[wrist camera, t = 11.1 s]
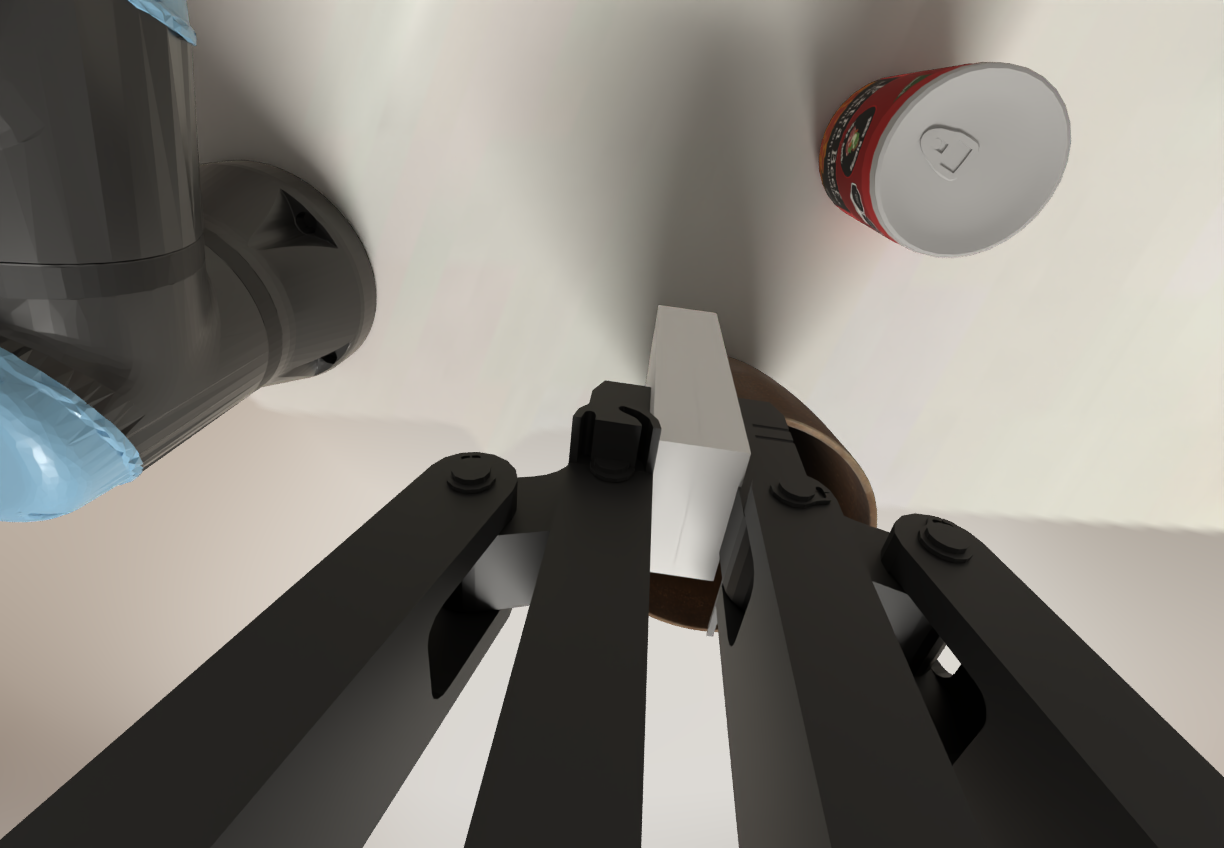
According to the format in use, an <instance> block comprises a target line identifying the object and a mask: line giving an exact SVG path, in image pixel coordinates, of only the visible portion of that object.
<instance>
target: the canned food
mask: <svg viewBox="0 0 1224 848" xmlns="http://www.w3.org/2000/svg"><path fill="white" fill-rule="evenodd" d="M1070 145H1071V128H1070V120H1069V116H1068V113H1067V109H1066V105H1065V103H1064V102H1063V100H1062V98H1061V96H1060V95H1059V93H1058V91H1057V89H1056V88H1055V87H1054V86H1052V85H1051V84H1050V83H1049V82H1048V81H1047V80H1046V79H1045V78H1044V77H1043V76H1041V75H1039V74H1038V73H1036V72H1034V71H1032V70H1030V69H1029V68H1026V67H1022V66H1018V65H1014V64H1010V63H1001V62H981V63H974V64H964V65H958V66H952V67H946V68H939V69H933V70H927V71H921V72H915V73H909V74H903V75H897V76H892V77H887V78H882V79H880V80H877V81H875V82H872V83H870V84H868V85H866V86H864V87H863V88H861V89H860V90H858V91H857V92H855V93H854V94H853V95H852V96H851V97H850V98H848V99H847V100H846V101H845V102H844V103H843V104H842V105H841V107H840V108H839V109H838V111H837V112H836V113H835V114H834V116H833V117H832V119H831V121H830V123H829V125H828V127H827V129H826V131H825V134H824V137H823V140H822V143H821V148H820V154H819V172H820V176H821V180H822V184H823V186H824V188H825V191H826V193H827V195H828V196H829V198H830V199H831V200H832V201H833V203H834V204H835V205H836V206H837V207H839V208H840V209H841V210H842V211H843V212H845V213H846V214H848V215H850V216H851V217H853V218H855V219H856V220H858V221H860V222H862V223H863V224H865V225H867V226H868V227H870V228H872V229H873V230H875V231H877V232H878V233H880V234H882V235H883V236H885V237H887V238H888V239H890V240H892V241H894V242H896V243H898V244H900V245H901V246H903V247H905V248H907V249H910V250H912V251H914V252H917V253H920V254H925V255H929V256H933V257H941V258H956V257H963V256H970V255H974V254H977V253H980V252H983V251H986V250H989V249H991V248H993V247H995V246H997V245H999V244H1001V243H1003V242H1005V241H1007V240H1008V239H1010V238H1011V237H1012V236H1014V235H1015V234H1017V233H1018V232H1020V231H1021V230H1022V229H1024V228H1025V227H1026V226H1027V225H1028V224H1029V223H1030V222H1031V221H1032V220H1033V219H1034V218H1035V217H1036V216H1037V215H1038V214H1039V213H1040V212H1041V210H1042V209H1043V208H1044V206H1045V205H1046V204H1047V203H1048V201H1049V200H1050V199H1051V197H1052V195H1053V194H1054V192H1055V190H1056V188H1057V186H1058V185H1059V183H1060V181H1061V179H1062V176H1063V173H1064V170H1065V168H1066V165H1067V162H1068V157H1069V151H1070Z"/></svg>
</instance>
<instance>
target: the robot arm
mask: <svg viewBox="0 0 1224 848" xmlns="http://www.w3.org/2000/svg"><path fill="white" fill-rule="evenodd" d="M196 40H197V38H196V33H195V31H194V30H193V29H192V27H191V26H190V23H189V15H188V8H187V1H186V0H0V521H6V522H33V521H42V520H48V519H53V518H57V517H59V516H62V515H65V514H69V513H71V512H73V511H75V510H77V509H79V508H81V507H82V506H84V505H86V504H87V503H89V502H91V501H92V500H94V499H96V498H97V497H99V496H101V495H102V494H104V493H106V492H107V491H109V490H111V489H112V488H114V487H116V486H117V485H122V484H124V483H128V482H131V481H133V480H135V479H136V478H137V477H138V476H139V475H140V474H141V473H142V471H144V470H145V469H147V468H148V467H149V466H151V465H152V464H154V463H155V462H156V461H158V460H159V459H161V458H162V457H163V456H165V455H166V454H168V453H169V452H170V451H172V450H173V449H175V448H176V447H177V446H179V445H180V444H182V443H183V442H184V441H186V440H187V439H189V438H190V437H192V436H193V435H194V434H196V433H197V432H199V431H200V430H201V429H203V428H204V427H206V426H207V425H208V424H210V423H211V422H212V421H214V420H215V419H217V418H218V417H219V416H221V415H222V414H224V413H225V412H226V411H228V410H229V409H231V408H232V407H234V406H235V405H236V404H238V403H239V402H240V401H242V400H243V399H245V398H246V397H248V396H249V395H250V394H252V393H253V392H255V391H256V390H258V389H259V388H260V387H265V386H270V385H275V384H280V383H285V382H290V381H295V380H300V379H305V378H310V377H314V376H317V375H320V374H322V373H325V372H327V371H329V370H331V369H332V368H334V367H336V366H337V365H339V364H340V363H341V362H343V361H344V360H345V359H346V358H348V357H349V356H350V355H352V354H353V353H354V352H355V351H356V350H357V349H358V348H359V347H360V346H361V345H362V343H363V342H364V341H365V339H366V337H367V336H368V334H369V332H370V330H371V327H372V324H373V320H374V316H375V311H376V288H375V281H374V276H373V272H372V268H371V265H370V262H369V259H368V257H367V254H366V252H365V250H364V248H363V246H362V244H361V242H360V240H359V238H358V237H357V235H356V233H355V232H354V230H353V229H352V227H351V226H350V224H349V223H348V222H347V220H346V219H345V218H344V216H343V215H342V214H341V213H340V212H339V211H338V209H337V208H336V207H335V206H334V205H333V204H332V203H331V202H330V201H329V200H328V199H327V198H325V197H324V196H323V195H322V194H321V193H320V192H318V191H317V190H316V189H314V188H313V187H312V186H310V185H309V184H308V183H306V182H304V181H303V180H301V179H300V178H298V177H296V176H294V175H292V174H290V173H288V172H286V171H284V170H282V169H279V168H277V167H274V166H271V165H268V164H264V163H260V162H254V161H246V160H231V161H222V162H213V163H206V164H201V165H199V155H198V142H197V128H196V109H195V91H194V72H193V53H192V45H194V46H197V45H196ZM719 560H720V564H721V573H722V581H721V585H720V588H719V591H718V595H717V598H716V601H715V604H714V608H713V611H712V614H711V617H710V621H709V624H708V629H707V636H713V634H714V631H715V628H716V625H717V624H718V633H719V644H720V654H721V664H722V675H723V685H724V696H725V707H726V717H727V728H728V738H729V748H730V758H731V769H732V779H733V790H734V801H735V811H736V822H737V832H738V842H739V848H1224V777H1223V776H1222V775H1221V774H1220V773H1219V772H1218V771H1217V770H1216V769H1215V768H1214V767H1213V766H1212V765H1211V764H1210V763H1209V762H1208V761H1206V760H1205V759H1204V757H1202V756H1201V755H1200V754H1199V753H1198V752H1197V751H1196V750H1195V749H1194V748H1193V747H1192V746H1191V745H1190V744H1189V743H1188V742H1187V741H1186V740H1185V739H1184V738H1183V737H1182V736H1181V735H1180V734H1179V733H1178V732H1177V731H1176V730H1175V729H1173V727H1172V726H1171V725H1170V724H1169V723H1168V722H1166V721H1165V720H1164V719H1163V718H1162V717H1161V716H1160V715H1159V714H1158V713H1157V712H1156V711H1155V710H1154V709H1153V708H1152V707H1151V706H1150V705H1149V704H1148V703H1147V702H1146V701H1145V700H1144V699H1143V698H1142V697H1141V696H1140V695H1139V694H1138V693H1137V692H1136V691H1135V690H1134V689H1133V688H1131V687H1130V686H1129V685H1128V684H1127V683H1126V682H1125V681H1124V680H1123V679H1122V678H1121V677H1120V676H1119V675H1118V674H1117V673H1116V672H1115V671H1114V670H1113V669H1112V668H1111V667H1110V666H1109V665H1108V664H1107V663H1106V662H1105V661H1104V660H1103V659H1102V658H1101V657H1100V656H1099V655H1098V654H1096V652H1095V651H1093V650H1092V649H1091V648H1090V647H1089V646H1088V645H1087V644H1086V643H1085V642H1084V641H1083V640H1082V639H1081V638H1080V637H1079V636H1078V635H1077V634H1076V633H1075V632H1074V631H1073V630H1072V629H1071V628H1070V627H1069V626H1068V625H1067V624H1066V623H1065V622H1064V621H1062V619H1060V618H1059V617H1058V616H1057V615H1056V614H1055V613H1054V612H1053V611H1052V610H1051V609H1050V608H1049V607H1048V606H1047V605H1046V604H1045V603H1044V602H1043V601H1042V600H1041V599H1040V598H1039V597H1038V596H1037V595H1036V594H1035V593H1034V592H1033V591H1032V590H1031V589H1030V588H1029V587H1027V585H1026V584H1025V583H1023V581H1021V580H1020V579H1019V578H1018V577H1017V576H1016V575H1015V574H1014V573H1013V572H1012V571H1011V570H1010V569H1009V568H1008V567H1007V566H1006V565H1005V564H1004V563H1003V562H1002V561H1001V560H1000V559H999V558H998V557H997V556H996V555H995V554H994V553H993V552H992V551H991V550H990V549H988V547H986V546H985V545H984V544H983V543H982V542H981V541H980V540H978V539H977V538H975V536H973V535H972V534H971V533H969V532H968V531H966V530H965V529H963V528H961V527H959V526H957V525H955V524H954V523H952V522H950V521H948V520H945V519H941V518H939V517H935V516H930V515H923V514H909V515H904V516H901V517H900V518H899V519H898V520H897V521H896V522H895V523H894V525H893V527H892V529H891V531H890V533H889V532H886V531H884V530H881V529H878V528H875V527H872V526H869V525H866V524H863V523H861V522H858V521H855V520H853V519H851V518H848V517H846V516H844V515H843V512H842V510H841V508H840V506H839V503H838V501H837V499H836V498H835V497H834V495H833V494H832V492H831V491H830V490H829V489H828V488H827V487H825V486H824V485H823V484H821V483H820V482H819V481H817V480H815V479H813V478H811V477H809V476H807V475H806V472H805V470H804V467H803V464H802V462H801V459H800V457H799V454H798V451H797V449H796V446H795V444H794V443H793V438H792V436H791V433H790V432H789V428H788V425H787V423H786V420H785V417H784V415H783V414H782V413H781V412H779V411H778V410H777V409H776V408H775V407H774V406H773V405H772V404H771V403H770V402H764V401H757V400H750V399H743V398H737V394H736V390H735V386H734V382H733V378H732V374H731V370H730V366H729V362H728V358H727V354H726V349H725V345H724V341H723V337H722V333H721V329H720V325H719V321H718V317H717V313H713V312H706V311H699V310H691V309H684V308H677V307H670V306H663V305H658V311H657V317H656V323H655V329H654V335H653V341H652V347H651V354H650V360H649V366H648V372H647V378H646V384H645V386H640V385H633V384H626V383H618V382H611V381H604V382H603V383H601V384H600V385H599V386H597V387H596V388H595V389H594V390H593V391H592V395H591V399H590V403H589V404H587V405H585V406H583V407H581V408H579V409H578V410H577V411H576V413H575V414H574V415H573V421H572V432H571V443H570V455H569V463H568V465H567V466H566V467H565V468H563V469H561V470H559V471H557V472H554V473H551V474H547V475H541V476H535V477H519V478H517V474H516V470H515V468H514V467H513V466H512V465H511V464H510V463H509V462H508V461H506V460H504V459H502V458H500V457H498V456H496V455H492V454H486V453H480V452H468V453H459V454H455V455H452V456H448V457H445V458H443V459H441V460H440V461H438V462H436V463H435V464H433V465H431V466H430V467H429V468H428V469H427V470H426V471H425V472H423V473H422V474H421V475H420V476H419V477H418V478H416V479H415V480H414V481H413V482H412V483H411V484H410V485H408V486H407V487H406V488H405V489H404V490H403V491H402V492H401V493H399V494H398V495H397V496H396V497H395V498H393V499H392V500H391V501H390V502H389V503H388V504H387V505H385V506H384V507H383V508H382V509H381V510H380V511H378V512H377V513H376V514H375V515H374V516H373V517H372V518H371V519H369V520H368V521H367V522H366V523H365V524H364V525H362V526H361V527H360V528H359V529H358V530H357V531H355V532H354V533H353V534H352V535H351V536H350V537H348V538H347V539H346V540H345V541H344V542H343V543H342V544H341V545H339V546H338V547H337V548H336V549H335V550H334V551H332V552H331V553H330V554H329V555H328V556H327V557H325V558H324V559H323V560H322V561H321V562H320V563H319V564H317V565H316V566H315V567H314V568H313V569H312V570H310V571H309V572H308V573H307V574H306V575H305V576H304V577H302V578H301V579H300V580H299V581H298V582H297V583H296V584H294V585H293V586H292V587H291V588H290V589H289V590H287V591H286V592H285V593H284V594H283V595H282V596H281V597H279V598H278V599H277V600H276V601H275V602H274V603H272V604H271V605H270V606H269V607H268V608H267V609H266V610H264V611H263V612H262V613H261V614H260V615H259V616H257V617H256V618H255V619H254V620H253V621H252V622H251V623H249V624H248V625H247V626H246V627H245V628H244V629H243V630H242V631H240V632H239V633H238V634H237V635H236V636H234V637H233V638H232V639H231V640H230V641H229V642H228V643H226V644H225V645H224V646H223V647H222V648H221V649H219V650H218V651H217V652H216V653H215V654H214V655H213V656H211V657H210V658H209V659H208V660H207V661H206V662H205V663H203V664H202V665H201V666H200V667H199V668H198V669H197V670H195V671H194V672H193V673H192V674H191V675H190V676H188V677H187V678H186V679H185V680H184V681H183V682H181V683H180V684H179V685H178V686H177V687H176V688H175V689H173V690H172V691H171V692H170V693H169V694H168V695H167V696H166V697H164V698H163V699H162V700H161V701H160V702H158V703H157V704H156V705H155V706H154V707H153V708H152V709H150V710H149V711H148V712H147V713H146V714H145V715H144V716H142V717H141V718H140V719H139V720H138V721H137V722H136V723H134V724H133V725H132V726H131V727H130V728H129V729H127V730H126V731H125V732H124V733H123V734H122V735H120V736H119V737H118V738H117V739H116V740H115V741H114V742H112V743H111V744H110V745H109V746H108V747H107V748H105V749H104V750H103V751H102V752H101V753H100V754H99V755H97V756H96V757H95V758H94V759H93V760H92V761H90V762H89V763H88V764H87V765H86V766H85V767H84V768H82V769H81V770H80V771H79V772H78V773H77V774H76V775H75V776H73V777H72V778H71V779H70V780H69V781H68V782H66V783H65V784H64V785H63V786H62V787H61V788H59V789H58V790H57V791H56V792H55V793H54V794H52V795H51V796H50V797H49V798H48V799H47V800H46V801H44V802H43V803H42V804H41V805H40V806H39V807H38V808H36V809H35V810H34V811H33V812H32V813H31V814H29V815H28V816H27V817H26V818H25V819H24V820H23V821H21V822H20V823H19V824H18V825H17V826H16V827H14V828H13V829H12V830H11V831H10V832H9V833H8V834H6V835H5V836H4V837H3V838H2V839H1V840H0V848H363V846H364V844H365V843H366V841H367V840H368V838H369V836H370V835H371V833H372V832H373V830H374V828H375V827H376V825H377V824H378V822H379V820H380V819H381V817H382V816H383V814H384V813H385V811H386V810H387V808H388V807H389V805H390V803H391V801H392V800H393V799H394V797H395V796H396V794H397V792H398V791H399V789H400V787H401V786H402V784H403V783H404V781H405V780H406V778H407V776H408V775H409V773H410V772H411V770H412V769H413V767H414V766H415V764H416V762H417V761H418V759H419V758H420V756H421V754H422V753H423V751H424V750H425V748H426V747H427V745H428V744H429V742H430V740H431V739H432V737H433V736H434V734H435V733H436V731H437V729H438V728H439V726H440V725H441V723H442V721H443V720H444V718H445V716H446V715H447V714H448V712H449V710H450V709H451V707H452V706H453V704H454V703H455V701H456V699H457V698H458V696H459V695H460V693H461V691H462V690H463V688H464V687H465V685H466V684H467V682H468V681H469V679H470V677H471V676H472V674H473V673H474V671H475V669H476V668H477V666H478V665H479V663H480V662H481V660H482V658H483V657H484V655H485V654H486V652H487V651H488V649H489V647H490V646H491V644H492V643H493V641H494V640H495V638H496V636H497V635H498V633H499V631H500V630H501V628H502V627H503V625H504V624H505V622H506V621H507V619H508V617H509V615H510V613H511V610H512V608H514V607H522V606H529V605H530V606H529V610H528V614H527V618H526V621H525V625H524V628H523V632H522V636H521V639H520V643H519V647H518V650H517V654H516V658H515V662H514V665H513V669H512V672H511V676H510V680H509V684H508V687H507V691H506V695H505V698H504V702H503V706H502V709H501V713H500V717H499V720H498V724H497V728H496V732H495V735H494V739H493V743H492V746H491V750H490V753H489V757H488V761H487V764H486V768H485V772H484V776H483V779H482V783H481V786H480V790H479V794H478V798H477V801H476V805H475V808H474V812H473V816H472V820H471V823H470V827H469V831H468V834H467V838H466V841H465V845H464V848H641V835H642V833H641V832H642V804H643V773H644V740H645V711H646V680H647V649H648V647H647V646H648V617H649V587H650V572H654V573H661V574H668V575H674V576H681V577H688V578H695V579H701V580H708V581H714V577H715V574H716V571H717V567H718V564H719ZM946 645H947V646H948V647H949V649H950V650H951V651H952V652H953V654H954V655H955V656H956V658H957V659H958V660H959V662H960V663H961V665H960V667H959V668H958V670H957V671H956V672H955V674H953V675H952V674H950V673H948V672H947V671H946V670H945V669H944V668H943V667H942V666H941V664H940V663H939V662H938V660H937V658H938V657H939V655H940V654H941V652H942V650H943V649H944V648H945V646H946Z"/></svg>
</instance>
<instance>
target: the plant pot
mask: <svg viewBox="0 0 1224 848" xmlns="http://www.w3.org/2000/svg"><path fill="white" fill-rule="evenodd" d="M727 358H728V362H729V366H730V370H731V374H732V378H733V382H734V386H735V390H736V394H737V398H743V399H750V400H757V401H764V402H770V403H771V404H772V405H773V406H774V407H775V408H776V409H777V410H778V411H779V412H781V413H782V414H783V415H784V417H785V420H786V423H787V425H788V428H789V432H790V433H791V436H792V438H793V443H794V444H795V446H796V449H797V451H798V454H799V457H800V459H801V462H802V464H803V467H804V470H805V472H806V475H807V476H809V477H811V478H813V479H815V480H817V481H819V482H820V483H821V484H823V485H824V486H825V487H827V488H828V489H829V490H830V491H831V492H832V494H833V495H834V497H835V498H836V499H837V501H838V503H839V506H840V508H841V510H842V512H843V515H844V516H846V517H848V518H851V519H853V520H855V521H858V522H861V523H863V524H866V525H869V526H872V527H875V528H877V508H876V501H875V497H874V493H873V490H872V487H871V485H870V482H869V480H868V478H867V477H866V475H865V473H864V471H863V470H862V468H861V467H860V465H859V464H858V463H857V461H856V460H855V459H854V458H853V457H852V455H851V454H850V453H849V452H848V451H847V450H846V448H845V447H844V446H843V445H842V444H841V443H840V442H839V440H838V439H837V438H836V437H835V436H834V435H833V433H832V432H831V431H830V430H829V429H828V428H827V427H826V426H825V424H824V423H823V422H822V421H821V420H820V419H819V418H818V417H817V416H816V415H815V414H814V413H813V412H812V411H811V410H810V409H809V408H808V407H807V406H805V405H804V404H803V403H802V402H801V401H800V400H799V399H798V398H796V397H795V396H794V395H793V394H792V393H790V392H789V391H788V390H787V389H785V388H784V387H783V386H781V385H780V384H779V383H777V382H776V381H774V380H773V379H772V378H770V377H769V376H767V375H766V374H764V373H762V372H761V371H759V370H758V369H756V368H754V367H752V366H750V365H748V364H746V363H744V362H742V361H739V360H737V359H734V358H731V357H728V356H727ZM721 581H722V573H721V564H720V560H719V564H718V567H717V571H716V574H715V577H714V581H708V580H701V579H695V578H688V577H681V576H674V575H668V574H661V573H654V572H650V587H649V616H651V617H653V618H655V619H658V620H660V621H663V622H666V623H669V624H672V625H675V626H679V627H683V628H688V629H693V630H700V631H707V629H708V624H709V621H710V617H711V614H712V611H713V608H714V604H715V601H716V598H717V595H718V591H719V588H720V585H721ZM714 632H718V624H717V625H716V628H715V631H714Z"/></svg>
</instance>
